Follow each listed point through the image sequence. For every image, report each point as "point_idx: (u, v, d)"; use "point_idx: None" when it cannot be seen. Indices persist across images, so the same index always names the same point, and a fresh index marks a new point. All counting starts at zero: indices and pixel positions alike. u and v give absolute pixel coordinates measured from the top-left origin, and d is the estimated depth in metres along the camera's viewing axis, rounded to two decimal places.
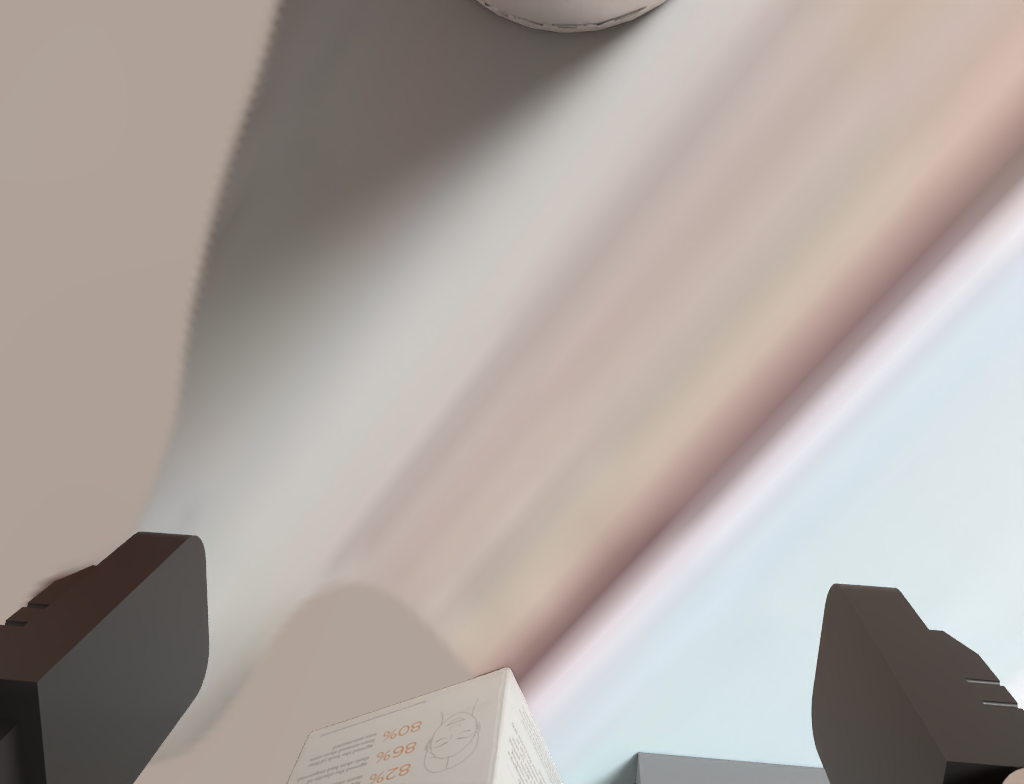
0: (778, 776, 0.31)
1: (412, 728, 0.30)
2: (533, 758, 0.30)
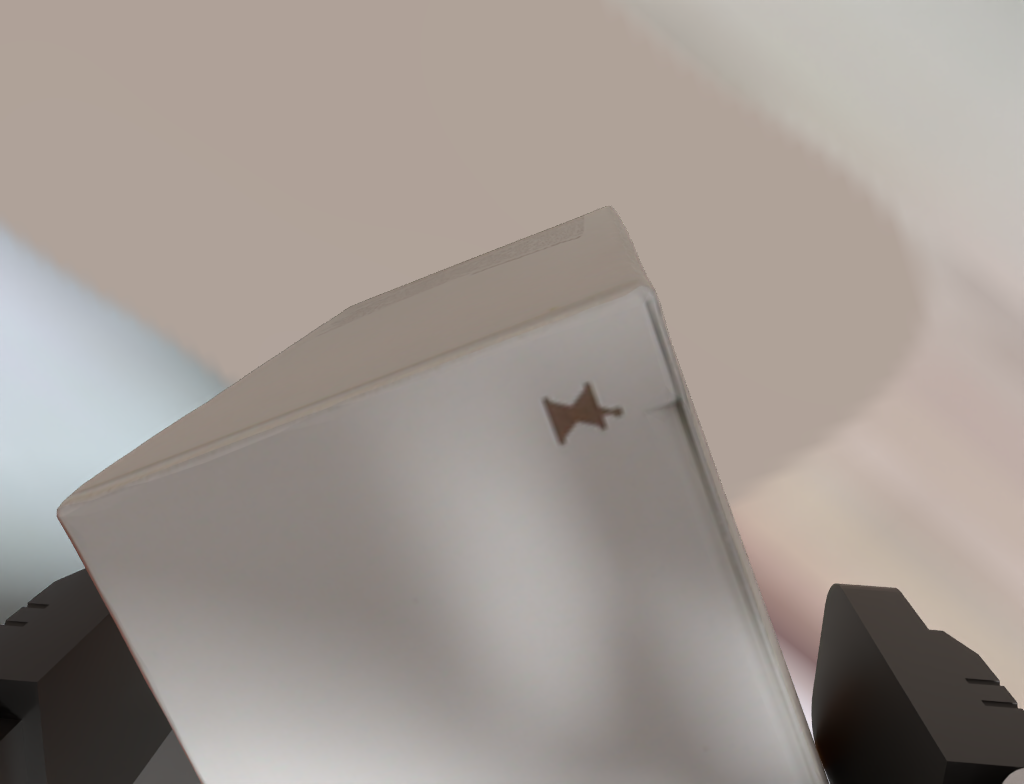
0: None
1: None
2: None
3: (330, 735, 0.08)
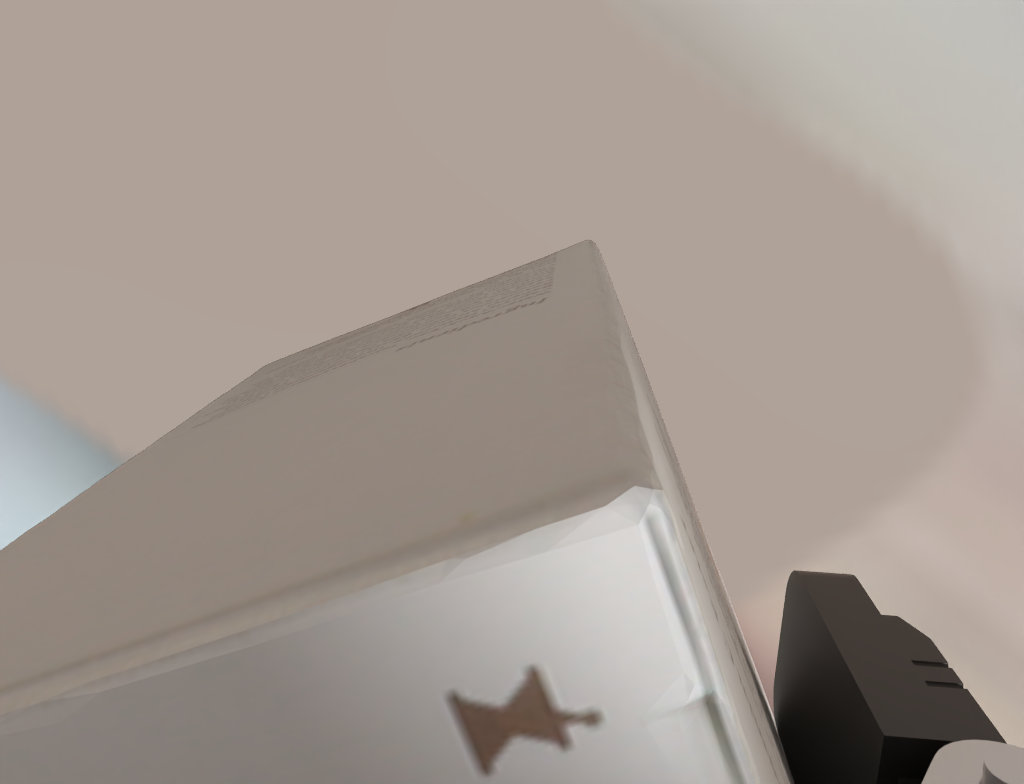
0: None
1: (711, 558, 0.12)
2: None
3: None
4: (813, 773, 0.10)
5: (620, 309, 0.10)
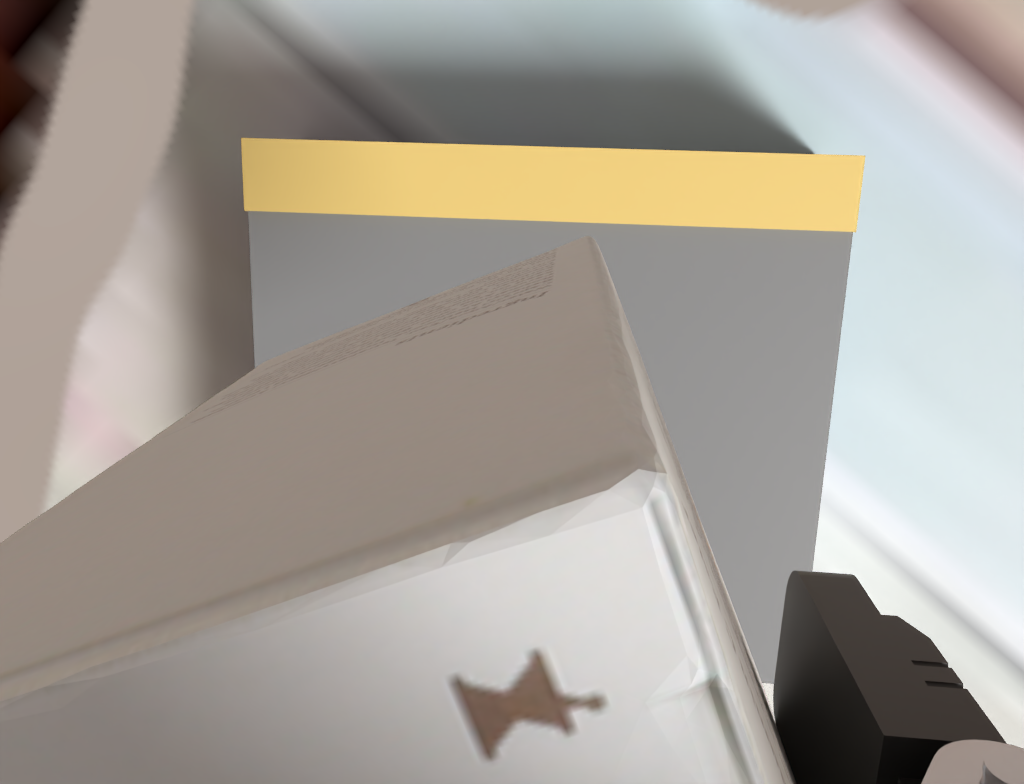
0: None
1: (711, 555, 0.12)
2: None
3: None
4: (813, 773, 0.10)
5: (620, 304, 0.10)
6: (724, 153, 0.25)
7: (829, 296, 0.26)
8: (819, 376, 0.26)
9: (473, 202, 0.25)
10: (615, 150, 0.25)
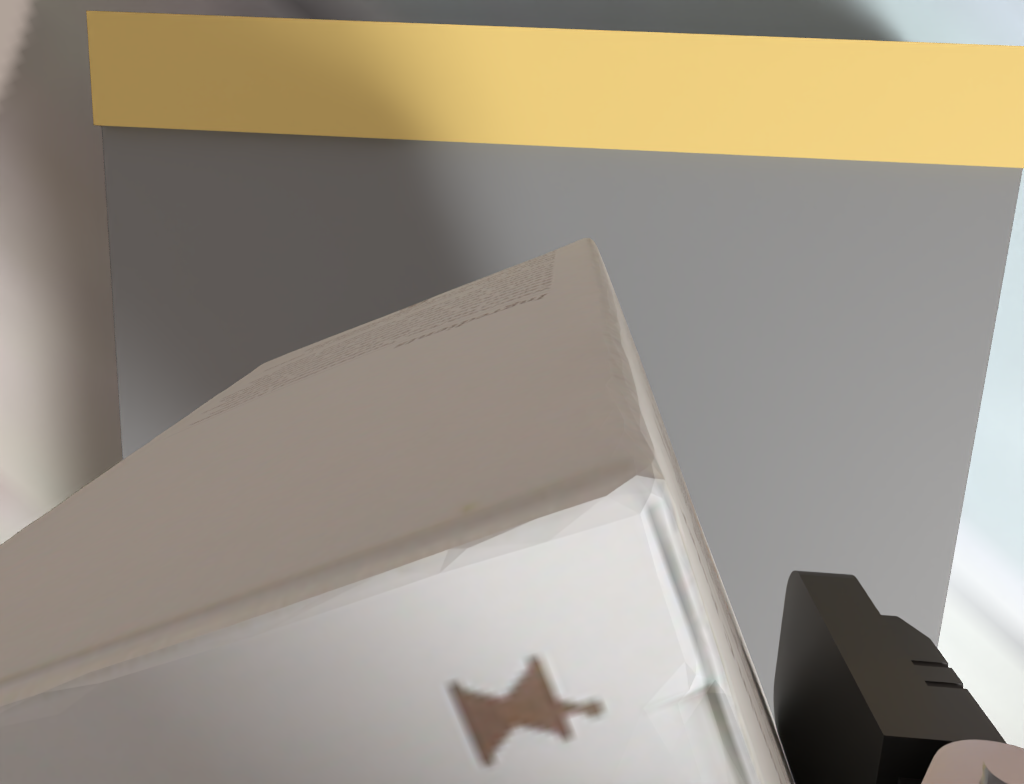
0: None
1: (711, 556, 0.12)
2: None
3: None
4: (812, 773, 0.10)
5: (619, 306, 0.10)
6: (831, 42, 0.16)
7: (980, 268, 0.17)
8: (958, 389, 0.17)
9: (442, 115, 0.17)
10: (662, 35, 0.16)
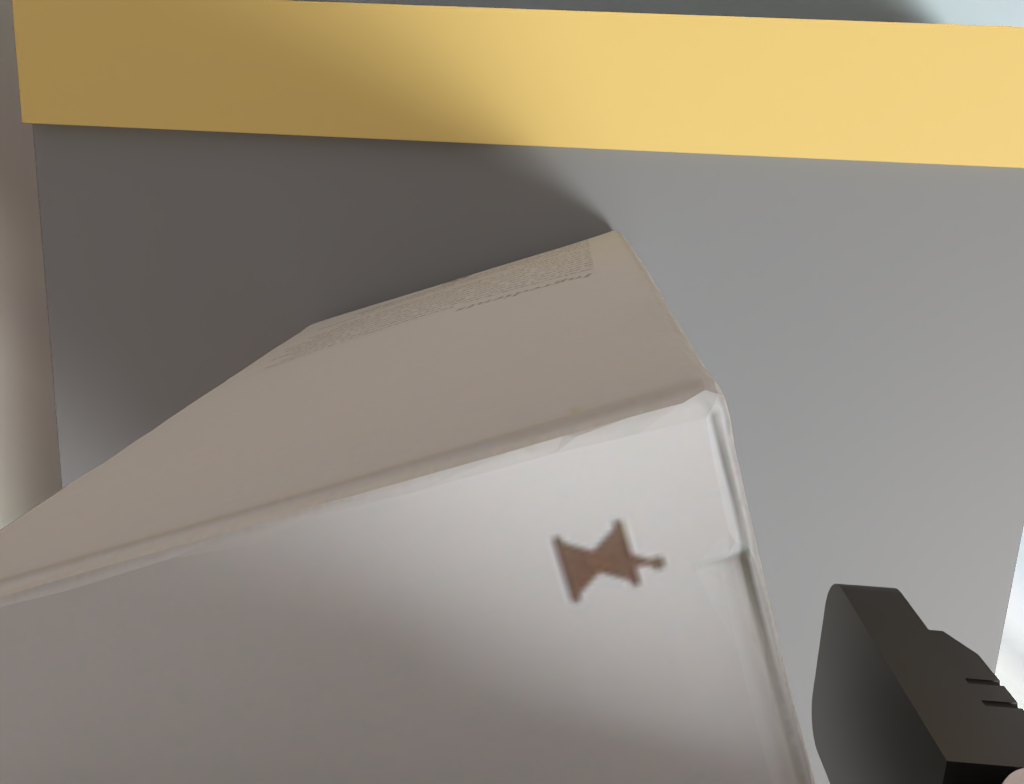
0: None
1: None
2: None
3: None
4: None
5: None
6: (873, 25, 0.14)
7: None
8: (1015, 424, 0.15)
9: (422, 111, 0.14)
10: (676, 18, 0.14)
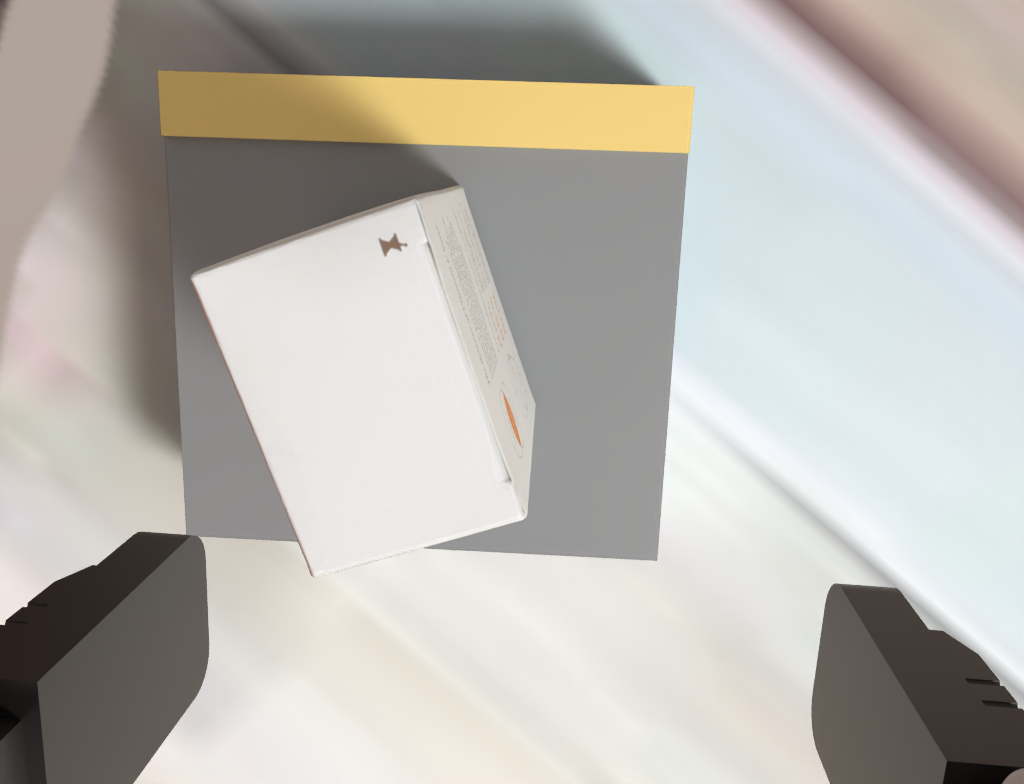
0: None
1: (502, 324, 0.29)
2: None
3: (293, 372, 0.21)
4: None
5: (456, 204, 0.26)
6: (575, 84, 0.29)
7: (670, 210, 0.30)
8: (664, 281, 0.30)
9: (361, 128, 0.29)
10: (482, 81, 0.29)
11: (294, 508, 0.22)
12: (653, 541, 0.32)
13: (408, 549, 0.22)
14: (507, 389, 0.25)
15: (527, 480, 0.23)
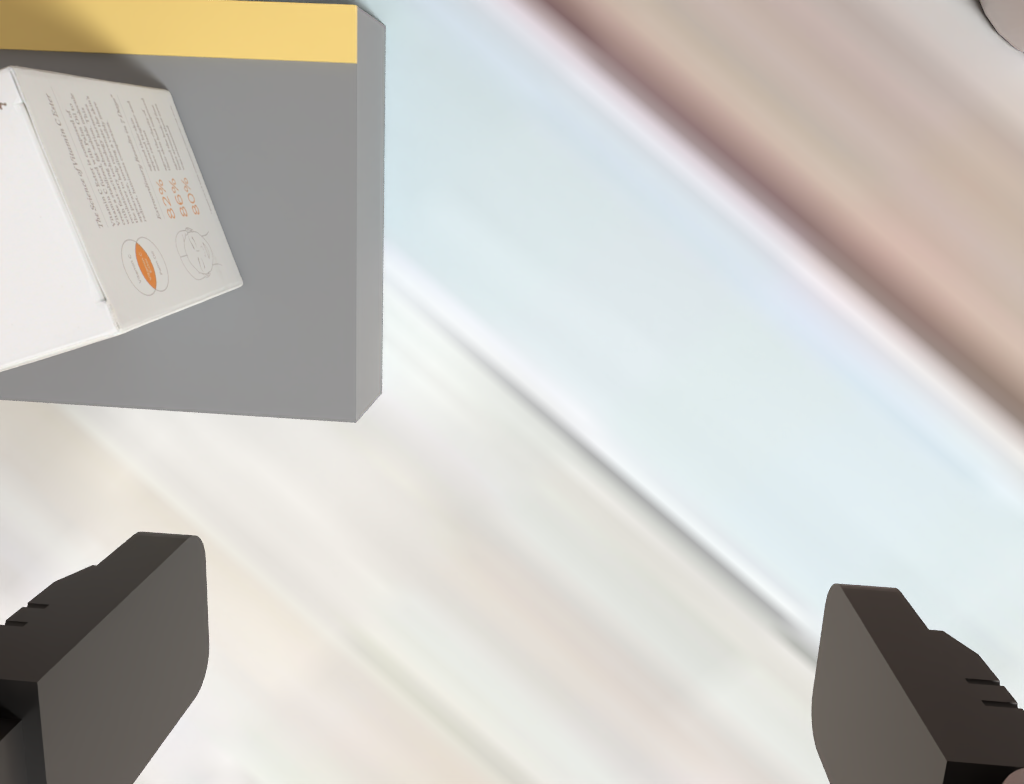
0: (381, 141, 0.39)
1: (193, 206, 0.34)
2: None
3: None
4: None
5: (130, 96, 0.31)
6: (257, 2, 0.34)
7: (345, 113, 0.35)
8: (345, 175, 0.35)
9: (82, 39, 0.35)
10: (180, 0, 0.34)
11: None
12: (351, 405, 0.38)
13: (30, 357, 0.27)
14: (155, 246, 0.30)
15: (147, 312, 0.28)
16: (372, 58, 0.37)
